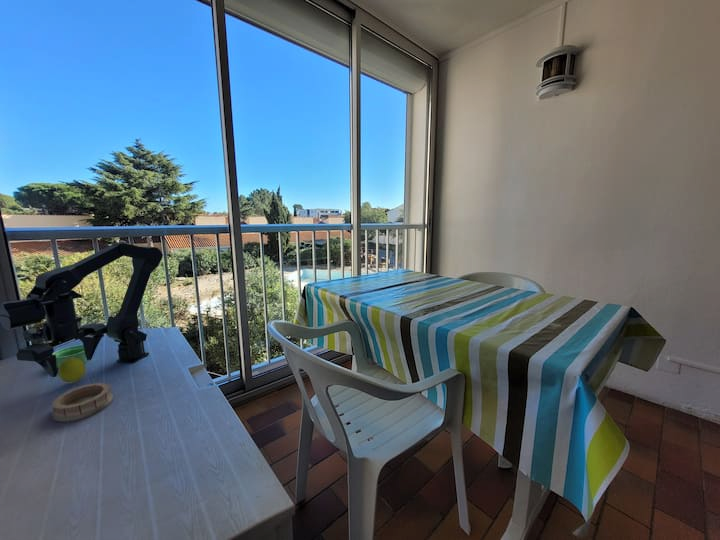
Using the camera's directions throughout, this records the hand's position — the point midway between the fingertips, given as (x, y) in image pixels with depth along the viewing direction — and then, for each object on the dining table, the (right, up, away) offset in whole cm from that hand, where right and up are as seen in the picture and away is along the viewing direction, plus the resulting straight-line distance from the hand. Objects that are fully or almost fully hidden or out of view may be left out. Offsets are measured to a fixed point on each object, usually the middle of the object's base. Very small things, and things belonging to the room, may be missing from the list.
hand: (72, 367), depth 82 cm
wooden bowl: (+13, -7, -10) cm, 17 cm away
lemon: (0, -5, +1) cm, 5 cm away
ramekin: (-12, -3, +12) cm, 17 cm away
